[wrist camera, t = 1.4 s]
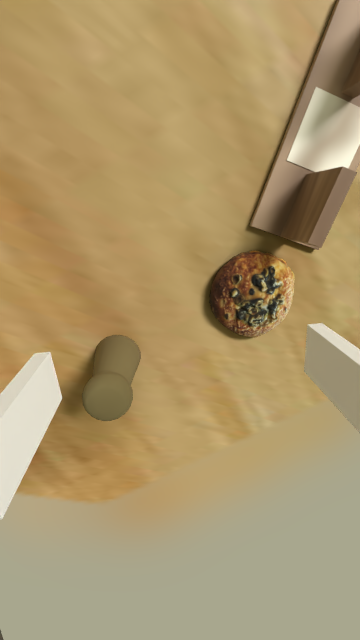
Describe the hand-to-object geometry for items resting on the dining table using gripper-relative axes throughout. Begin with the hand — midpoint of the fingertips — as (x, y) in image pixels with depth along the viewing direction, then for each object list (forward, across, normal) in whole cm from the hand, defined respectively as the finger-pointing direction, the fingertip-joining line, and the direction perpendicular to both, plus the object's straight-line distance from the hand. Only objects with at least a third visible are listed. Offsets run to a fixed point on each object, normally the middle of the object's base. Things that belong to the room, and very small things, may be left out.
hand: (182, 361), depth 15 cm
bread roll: (+24, +10, -4) cm, 26 cm away
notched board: (+23, +19, +13) cm, 32 cm away
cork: (+23, -8, -11) cm, 27 cm away
